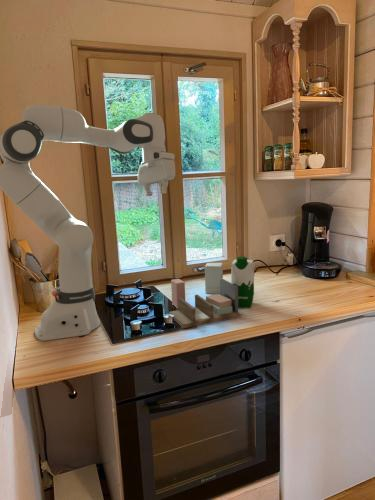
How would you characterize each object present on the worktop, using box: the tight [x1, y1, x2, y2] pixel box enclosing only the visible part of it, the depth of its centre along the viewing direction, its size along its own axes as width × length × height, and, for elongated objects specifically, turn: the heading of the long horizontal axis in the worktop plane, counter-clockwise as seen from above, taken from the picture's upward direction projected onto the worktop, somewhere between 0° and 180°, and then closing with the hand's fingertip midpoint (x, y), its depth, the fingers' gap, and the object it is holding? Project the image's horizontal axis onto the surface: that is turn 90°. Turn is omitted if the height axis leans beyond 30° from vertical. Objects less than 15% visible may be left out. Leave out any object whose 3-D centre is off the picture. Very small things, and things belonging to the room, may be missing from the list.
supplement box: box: [204, 262, 224, 295], centre depth 171 cm, size 7×7×13 cm
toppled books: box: [205, 294, 232, 315], centre depth 144 cm, size 7×10×4 cm, turn 23°
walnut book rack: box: [168, 294, 241, 329], centre depth 142 cm, size 23×14×6 cm, turn 113°
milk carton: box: [230, 256, 255, 309], centre depth 151 cm, size 9×9×20 cm
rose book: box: [170, 278, 186, 310], centre depth 152 cm, size 4×6×11 cm, turn 23°
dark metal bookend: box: [219, 279, 239, 313], centre depth 145 cm, size 1×12×10 cm, turn 22°
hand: (156, 194), depth 144 cm, fingers open, 8 cm apart
